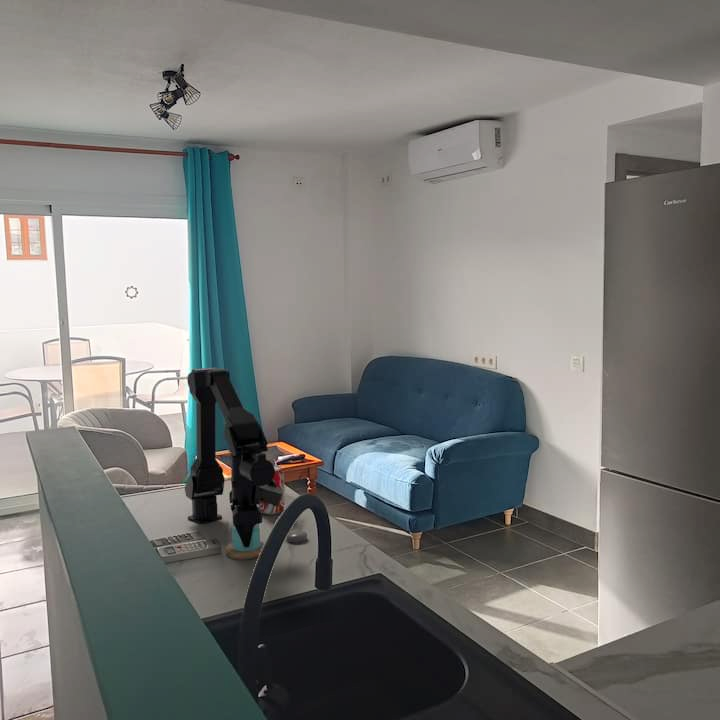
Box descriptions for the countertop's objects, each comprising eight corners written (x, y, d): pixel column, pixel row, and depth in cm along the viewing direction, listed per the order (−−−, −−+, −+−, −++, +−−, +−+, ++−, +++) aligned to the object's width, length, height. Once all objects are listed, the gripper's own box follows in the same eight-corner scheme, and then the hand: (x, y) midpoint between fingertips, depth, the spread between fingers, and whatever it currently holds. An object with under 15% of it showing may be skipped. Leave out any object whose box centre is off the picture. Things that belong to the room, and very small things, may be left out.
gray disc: (281, 540, 171) (281, 534, 171) (297, 535, 174) (297, 529, 174) (295, 546, 167) (295, 539, 167) (311, 540, 171) (311, 534, 171)
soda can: (280, 516, 187) (279, 471, 186) (254, 515, 189) (253, 470, 187) (288, 508, 194) (287, 465, 193) (263, 506, 196) (262, 463, 194)
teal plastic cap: (232, 542, 165) (231, 521, 165) (258, 540, 167) (257, 519, 166) (233, 552, 159) (233, 530, 159) (260, 549, 161) (260, 528, 160)
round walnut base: (217, 552, 163) (217, 543, 162) (248, 541, 169) (248, 532, 169) (243, 562, 157) (243, 553, 156) (274, 551, 163) (274, 541, 163)
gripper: (285, 484, 154) (286, 554, 156) (275, 462, 172) (276, 525, 174) (232, 487, 151) (234, 558, 153) (228, 465, 169) (230, 529, 171)
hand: (245, 542), depth 163 cm, fingers closed on teal plastic cap, 6 cm apart
